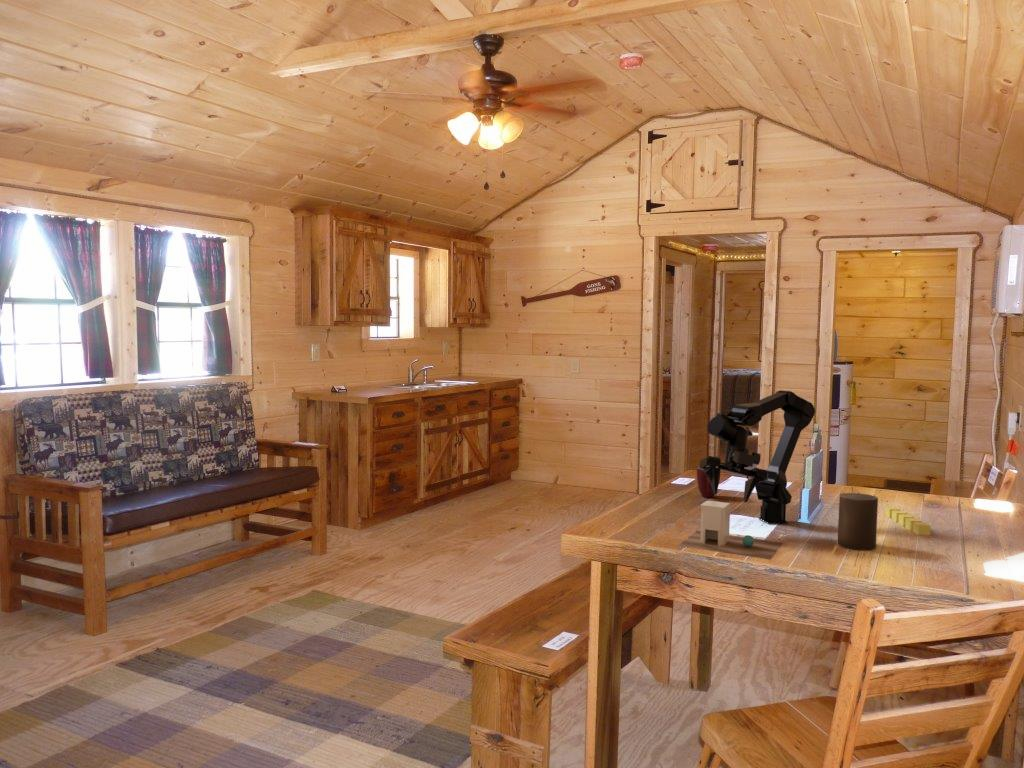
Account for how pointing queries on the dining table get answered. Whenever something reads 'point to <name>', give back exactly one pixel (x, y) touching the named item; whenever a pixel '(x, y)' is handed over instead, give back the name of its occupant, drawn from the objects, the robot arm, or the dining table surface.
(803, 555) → the dining table surface
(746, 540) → the marble
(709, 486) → the mug
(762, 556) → the board
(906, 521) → the yellow stair block
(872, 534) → the pillar candle
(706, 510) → the cream matte box
